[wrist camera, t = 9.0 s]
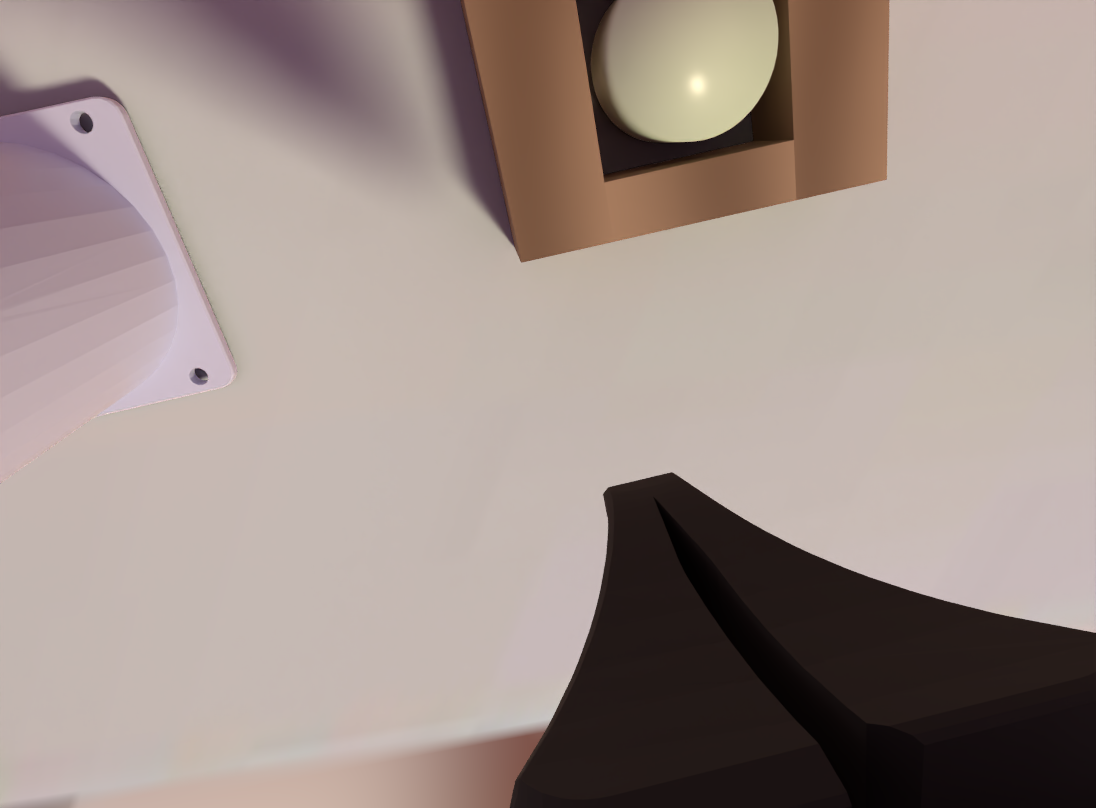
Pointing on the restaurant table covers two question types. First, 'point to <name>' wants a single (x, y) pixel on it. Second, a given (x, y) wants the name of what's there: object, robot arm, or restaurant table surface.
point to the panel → (688, 182)
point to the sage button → (683, 65)
